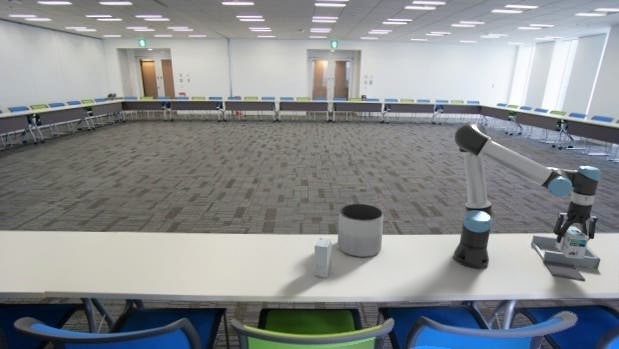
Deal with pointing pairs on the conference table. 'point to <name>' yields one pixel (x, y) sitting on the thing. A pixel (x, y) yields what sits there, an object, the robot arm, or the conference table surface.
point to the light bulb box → (574, 243)
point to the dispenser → (588, 261)
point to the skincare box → (323, 257)
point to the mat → (563, 270)
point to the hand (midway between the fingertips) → (569, 250)
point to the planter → (360, 230)
